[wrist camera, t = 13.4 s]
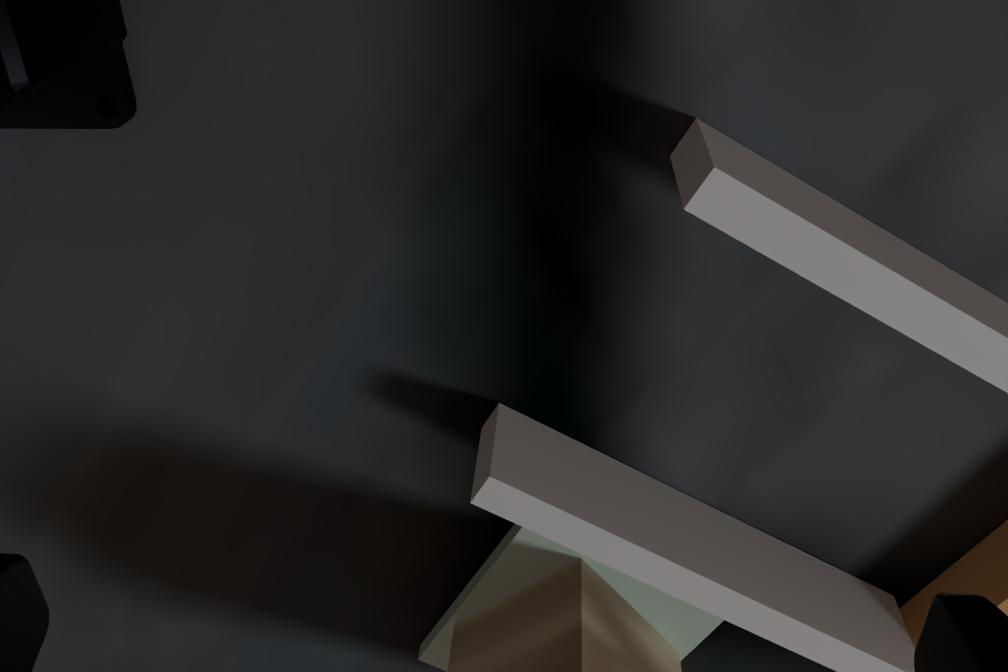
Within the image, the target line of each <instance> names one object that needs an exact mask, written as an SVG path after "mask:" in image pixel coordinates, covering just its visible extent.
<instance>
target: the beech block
mask: <svg viewBox="0 0 1008 672" xmlns="http://www.w3.org/2000/svg"><path fill="white" fill-rule="evenodd" d="M447 672H681V663H680V655H679V651H678V650H677V649H676V648H675V647H674V646H673V645H672V644H671V643H669V642H668V641H667V640H666V639H665V638H664V637H663V636H662V635H661V634H660V633H659V632H658V631H657V630H656V629H655V628H654V627H653V626H652V625H651V624H650V623H649V622H648V621H647V620H645V619H644V618H643V617H642V616H641V615H640V614H639V613H638V612H637V611H636V610H635V609H634V608H633V607H632V606H631V605H630V604H629V603H628V602H627V601H626V600H625V599H624V598H623V597H621V596H620V595H619V594H618V593H617V592H616V591H615V590H614V589H613V588H612V587H611V586H610V585H609V584H608V583H607V582H606V581H605V580H604V579H603V578H602V577H601V576H600V575H599V574H597V573H596V572H595V571H594V570H593V569H592V568H591V567H590V566H589V565H588V564H587V563H586V562H585V561H584V560H583V559H582V558H581V559H579V560H577V561H575V562H573V563H571V564H569V565H567V566H565V567H564V568H562V569H560V570H558V571H556V572H554V573H552V574H550V575H548V576H547V577H545V578H543V579H541V580H539V581H537V582H535V583H533V584H531V585H530V586H528V587H526V588H524V589H522V590H520V591H518V592H516V593H514V594H513V595H511V596H509V597H507V598H505V599H503V600H501V601H499V602H497V603H496V604H494V605H492V606H490V607H488V608H486V609H484V610H482V611H480V612H479V613H477V614H475V615H473V616H471V617H469V618H467V619H465V620H463V621H462V622H460V623H458V624H456V625H454V629H453V636H452V643H451V649H450V656H449V663H448V669H447Z"/></svg>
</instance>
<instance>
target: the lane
mask: <svg viewBox="0 0 1008 672" xmlns="http://www.w3.org/2000/svg"><path fill="white" fill-rule="evenodd" d="M670 158H671V162H672V166H673V170H674V174H675V178H676V181H677V185H678V189H679V193H680V197H681V201H682V204H683V208H684V210H686V211H688V212H689V213H691V214H693V215H695V216H697V217H698V218H700V219H702V220H704V221H705V222H707V223H709V224H711V225H712V226H714V227H716V228H718V229H719V230H721V231H723V232H725V233H726V234H728V235H730V236H732V237H734V238H735V239H737V240H739V241H741V242H742V243H744V244H746V245H748V246H749V247H751V248H753V249H755V250H756V251H758V252H760V253H762V254H764V255H765V256H767V257H769V258H771V259H772V260H774V261H776V262H778V263H779V264H781V265H783V266H785V267H786V268H788V269H790V270H792V271H793V272H795V273H797V274H799V275H801V276H802V277H804V278H806V279H808V280H809V281H811V282H813V283H815V284H816V285H818V286H820V287H822V288H823V289H825V290H827V291H829V292H831V293H832V294H834V295H836V296H838V297H839V298H841V299H843V300H845V301H846V302H848V303H850V304H852V305H853V306H855V307H857V308H859V309H860V310H862V311H864V312H866V313H868V314H869V315H871V316H873V317H875V318H876V319H878V320H880V321H882V322H883V323H885V324H887V325H889V326H890V327H892V328H894V329H896V330H898V331H899V332H901V333H903V334H905V335H906V336H908V337H910V338H912V339H913V340H915V341H917V342H919V343H920V344H922V345H924V346H926V347H927V348H929V349H931V350H933V351H935V352H936V353H938V354H940V355H942V356H943V357H945V358H947V359H949V360H950V361H952V362H954V363H956V364H957V365H959V366H961V367H963V368H965V369H966V370H968V371H970V372H972V373H973V374H975V375H977V376H979V377H980V378H982V379H984V380H986V381H987V382H989V383H991V384H993V385H994V386H996V387H998V388H1000V389H1002V390H1003V391H1005V392H1007V393H1008V303H1007V302H1005V301H1003V300H1002V299H1000V298H998V297H997V296H995V295H993V294H992V293H990V292H988V291H987V290H985V289H983V288H981V287H980V286H978V285H976V284H975V283H973V282H971V281H970V280H968V279H966V278H965V277H963V276H961V275H960V274H958V273H956V272H955V271H953V270H951V269H950V268H948V267H946V266H944V265H943V264H941V263H939V262H938V261H936V260H934V259H933V258H931V257H929V256H928V255H926V254H924V253H923V252H921V251H919V250H918V249H916V248H914V247H912V246H911V245H909V244H907V243H906V242H904V241H902V240H901V239H899V238H897V237H896V236H894V235H892V234H891V233H889V232H887V231H886V230H884V229H882V228H881V227H879V226H877V225H875V224H874V223H872V222H870V221H869V220H867V219H865V218H864V217H862V216H860V215H859V214H857V213H855V212H854V211H852V210H850V209H849V208H847V207H845V206H843V205H842V204H840V203H838V202H837V201H835V200H833V199H832V198H830V197H828V196H827V195H825V194H823V193H822V192H820V191H818V190H817V189H815V188H813V187H811V186H810V185H808V184H806V183H805V182H803V181H801V180H800V179H798V178H796V177H795V176H793V175H791V174H790V173H788V172H786V171H785V170H783V169H781V168H780V167H778V166H776V165H774V164H773V163H771V162H769V161H768V160H766V159H764V158H763V157H761V156H759V155H758V154H756V153H754V152H753V151H751V150H749V149H748V148H746V147H744V146H742V145H741V144H739V143H737V142H736V141H734V140H732V139H731V138H729V137H727V136H726V135H724V134H722V133H721V132H719V131H717V130H716V129H714V128H712V127H711V126H709V125H707V124H705V123H704V122H702V121H700V120H699V119H697V118H696V119H695V120H694V122H693V123H692V125H691V126H690V128H689V129H688V130H687V132H686V133H685V135H684V136H683V138H682V139H681V141H680V142H679V143H678V145H677V146H676V148H675V149H674V151H673V152H672V154H671V155H670ZM470 503H472V504H474V505H476V506H478V507H480V508H483V509H485V510H487V511H489V512H491V513H493V514H496V515H498V516H500V517H502V518H504V519H507V520H509V521H511V522H513V523H515V524H517V525H520V526H522V527H524V528H526V529H528V530H530V531H533V532H535V533H537V534H539V535H541V536H543V537H546V538H548V539H550V540H552V541H554V542H557V543H559V544H561V545H563V546H565V547H567V548H570V549H572V550H574V551H576V552H578V553H580V554H583V555H585V556H587V557H589V558H591V559H593V560H596V561H598V562H600V563H602V564H604V565H606V566H609V567H611V568H613V569H615V570H617V571H620V572H622V573H624V574H626V575H628V576H630V577H633V578H635V579H637V580H639V581H641V582H643V583H646V584H648V585H650V586H652V587H654V588H656V589H659V590H661V591H663V592H665V593H667V594H670V595H672V596H674V597H676V598H678V599H680V600H683V601H685V602H687V603H689V604H691V605H693V606H696V607H698V608H700V609H702V610H704V611H706V612H709V613H711V614H713V615H715V616H717V617H720V618H722V619H724V620H726V621H728V622H730V623H733V624H735V625H737V626H739V627H741V628H743V629H746V630H748V631H750V632H752V633H754V634H756V635H759V636H761V637H763V638H765V639H767V640H770V641H772V642H774V643H776V644H778V645H780V646H783V647H785V648H787V649H789V650H791V651H793V652H796V653H798V654H800V655H802V656H804V657H806V658H809V659H811V660H813V661H815V662H817V663H820V664H822V665H824V666H826V667H828V668H830V669H833V670H835V671H837V672H915V670H914V651H915V648H914V646H913V643H912V641H911V638H910V636H909V633H908V631H907V628H906V626H905V623H904V621H903V618H902V616H901V613H900V611H899V608H898V606H897V603H896V601H895V598H894V596H893V595H891V594H889V593H887V592H885V591H883V590H881V589H878V588H876V587H874V586H872V585H870V584H868V583H866V582H864V581H862V580H860V579H858V578H856V577H854V576H852V575H850V574H848V573H846V572H844V571H842V570H840V569H838V568H836V567H834V566H831V565H829V564H827V563H825V562H823V561H821V560H819V559H817V558H815V557H813V556H811V555H809V554H807V553H805V552H803V551H801V550H799V549H797V548H795V547H793V546H791V545H789V544H787V543H785V542H782V541H780V540H778V539H776V538H774V537H772V536H770V535H768V534H766V533H764V532H762V531H760V530H758V529H756V528H754V527H752V526H750V525H748V524H746V523H744V522H742V521H740V520H738V519H735V518H733V517H731V516H729V515H727V514H725V513H723V512H721V511H719V510H717V509H715V508H713V507H711V506H709V505H707V504H705V503H703V502H701V501H699V500H697V499H695V498H693V497H691V496H688V495H686V494H684V493H682V492H680V491H678V490H676V489H674V488H672V487H670V486H668V485H666V484H664V483H662V482H660V481H658V480H656V479H654V478H652V477H650V476H648V475H646V474H644V473H642V472H639V471H637V470H635V469H633V468H631V467H629V466H627V465H625V464H623V463H621V462H619V461H617V460H615V459H613V458H611V457H609V456H607V455H605V454H603V453H601V452H599V451H597V450H595V449H592V448H590V447H588V446H586V445H584V444H582V443H580V442H578V441H576V440H574V439H572V438H570V437H568V436H566V435H564V434H562V433H560V432H558V431H556V430H554V429H552V428H550V427H548V426H546V425H543V424H541V423H539V422H537V421H535V420H533V419H531V418H529V417H527V416H525V415H523V414H521V413H519V412H517V411H515V410H513V409H511V408H509V407H507V406H505V405H503V404H501V403H499V404H498V405H497V407H496V408H495V410H494V411H493V413H492V414H491V415H490V417H489V418H488V420H487V421H486V423H485V424H484V426H483V427H482V430H481V436H480V443H479V450H478V456H477V463H476V469H475V476H474V482H473V489H472V495H471V502H470Z"/></svg>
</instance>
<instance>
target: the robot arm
mask: <svg viewBox="0 0 1008 672" xmlns="http://www.w3.org/2000/svg"><path fill="white" fill-rule="evenodd" d="M126 36H127V30H126V26H125V22H124V18H123V14H122V9H121V5H120V1H119V0H0V128H27V129H113V128H118V127H121V126H122V125H124V124H125V123H127V122H128V121H129V120H130V119H132V118H133V117H134V115H135V113H136V110H137V107H136V98H135V94H134V90H133V86H132V82H131V78H130V74H129V69H128V65H127V61H126V57H125V53H124V49H123V45H122V42H123V40H124V39H125V38H126ZM104 95H106V96H110V97H111V98H112V99H113V100H115V102H116V104H117V106H118V113H117V112H113V111H111V110H110V109H108V108H107V107H106V105H105V103H104ZM48 625H49V609H48V606H47V603H46V601H45V598H44V596H43V594H42V591H41V589H40V586H39V584H38V582H37V579H36V577H35V575H34V572H33V570H32V568H31V565H30V563H29V562H28V560H27V559H26V558H24V557H23V556H22V555H19V554H6V553H0V672H32V669H33V667H34V664H35V662H36V659H37V657H38V654H39V651H40V649H41V646H42V644H43V641H44V639H45V636H46V633H47V630H48ZM914 670H915V672H1008V616H1007V615H1006V614H1005V613H1004V612H1003V611H1002V610H1001V609H999V608H998V607H997V606H996V605H995V604H994V603H993V602H991V601H990V600H989V599H987V598H985V597H984V596H982V595H979V594H971V593H947V592H943V593H938V594H937V595H935V596H934V597H933V599H932V601H931V603H930V605H929V608H928V611H927V614H926V617H925V620H924V623H923V626H922V629H921V632H920V635H919V637H918V640H917V643H916V647H915V651H914Z"/></svg>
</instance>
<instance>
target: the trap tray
mask: <svg viewBox="0 0 1008 672" xmlns="http://www.w3.org/2000/svg"><path fill="white" fill-rule="evenodd" d="M943 592H947V593H971V594H979V595H982V596H984V597H985V598H987V599H989V600H990V601H991V602H993V603H994V604H995V605H996V606H997V607H998V608H999V609H1001V610H1002V611H1003V612H1004V613H1005V614H1006V615H1007V616H1008V520H1007V521H1005V522H1004V523H1003V524H1002V525H1000V526H999V527H998V528H997V529H996V530H994V531H993V532H992V533H991V534H989V535H988V536H987V537H986V538H985V539H983V540H982V541H981V542H980V543H979V544H977V545H976V546H975V547H974V548H972V549H971V550H970V551H969V552H968V553H966V554H965V555H964V556H963V557H961V558H960V559H959V560H958V561H957V562H955V563H954V564H953V565H952V566H950V567H949V568H948V569H947V570H946V571H944V572H943V573H942V574H941V575H940V576H938V577H937V578H936V579H935V580H933V581H932V582H931V583H930V584H929V585H927V586H926V587H925V588H924V589H922V590H921V591H920V592H919V593H918V594H916V595H915V596H914V597H913V598H912V599H910V600H909V601H908V602H907V603H905V604H904V605H903V606H902V607H901V608H899V611H900V613H901V616H902V618H903V621H904V623H905V626H906V628H907V631H908V633H909V636H910V638H911V641H912V643H913V646H914V648H915V647H916V643H917V640H918V637H919V635H920V632H921V629H922V626H923V623H924V620H925V617H926V614H927V611H928V608H929V605H930V603H931V601H932V599H933V597H934V596H935V595H937V594H938V593H943Z"/></svg>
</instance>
